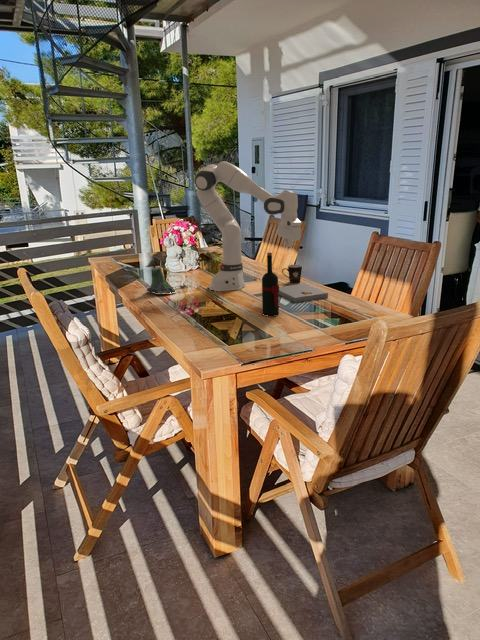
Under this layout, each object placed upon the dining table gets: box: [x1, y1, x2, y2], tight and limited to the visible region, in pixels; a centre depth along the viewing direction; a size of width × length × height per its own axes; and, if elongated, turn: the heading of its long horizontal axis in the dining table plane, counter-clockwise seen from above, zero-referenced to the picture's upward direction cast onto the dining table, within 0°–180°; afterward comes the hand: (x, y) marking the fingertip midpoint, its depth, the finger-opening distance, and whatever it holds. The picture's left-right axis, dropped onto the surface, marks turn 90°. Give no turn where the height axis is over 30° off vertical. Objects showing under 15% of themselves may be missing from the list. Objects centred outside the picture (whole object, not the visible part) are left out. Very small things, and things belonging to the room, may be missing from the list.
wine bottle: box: [261, 252, 280, 317], centre depth 227 cm, size 8×10×30 cm
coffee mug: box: [281, 264, 303, 284], centre depth 294 cm, size 12×9×10 cm
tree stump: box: [146, 266, 175, 293], centre depth 280 cm, size 18×20×18 cm
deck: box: [278, 283, 329, 303], centre depth 265 cm, size 20×25×2 cm
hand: (288, 246), depth 265 cm, fingers closed
